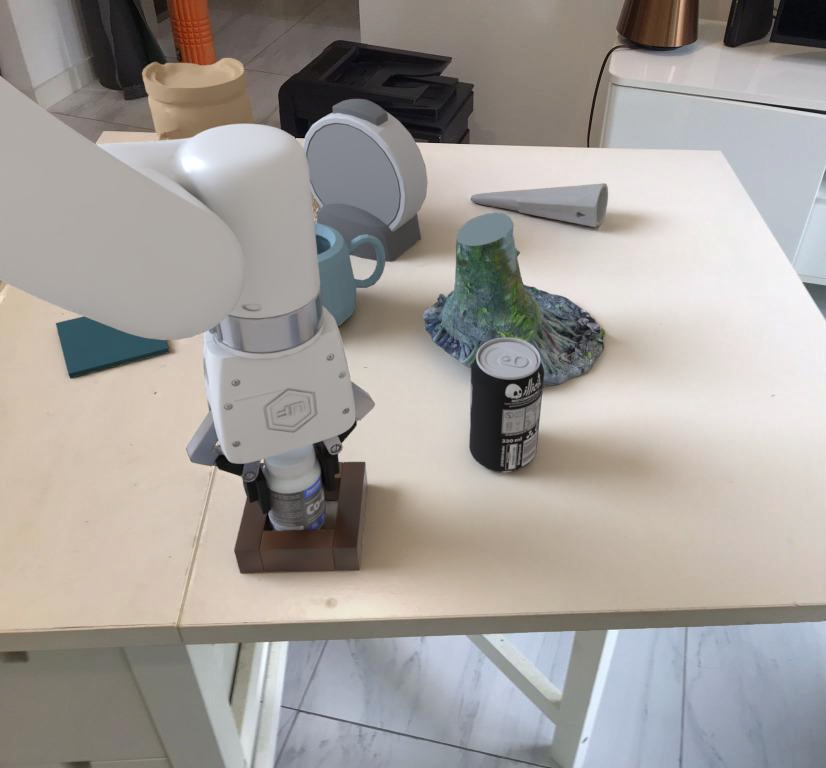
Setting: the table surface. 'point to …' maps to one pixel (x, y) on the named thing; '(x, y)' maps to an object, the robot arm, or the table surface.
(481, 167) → the table surface
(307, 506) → the pill bottle
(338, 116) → the alarm clock
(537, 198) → the long tapered cone
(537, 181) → the table surface
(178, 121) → the container
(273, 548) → the peg block
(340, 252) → the mug
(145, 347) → the mat
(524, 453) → the beverage can
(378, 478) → the table surface
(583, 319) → the tree stump
